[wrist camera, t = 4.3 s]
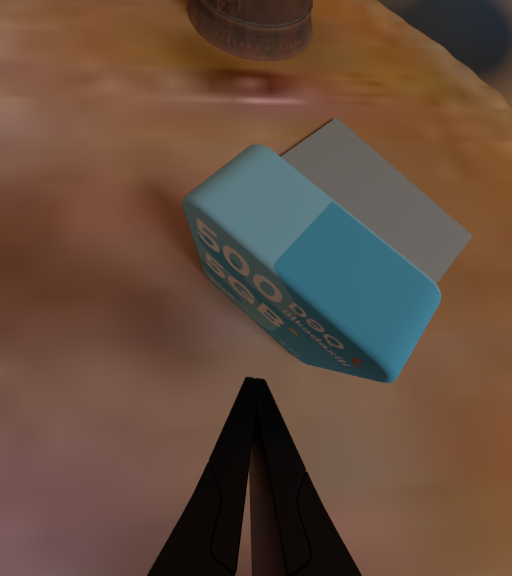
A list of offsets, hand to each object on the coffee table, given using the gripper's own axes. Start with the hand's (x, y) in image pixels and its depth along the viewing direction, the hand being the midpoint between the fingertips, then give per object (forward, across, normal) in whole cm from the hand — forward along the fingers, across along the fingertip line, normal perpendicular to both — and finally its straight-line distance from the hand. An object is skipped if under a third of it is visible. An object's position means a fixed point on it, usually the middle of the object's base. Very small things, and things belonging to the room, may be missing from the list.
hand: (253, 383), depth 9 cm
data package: (+11, -2, +3) cm, 12 cm away
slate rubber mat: (+18, -10, -5) cm, 22 cm away
